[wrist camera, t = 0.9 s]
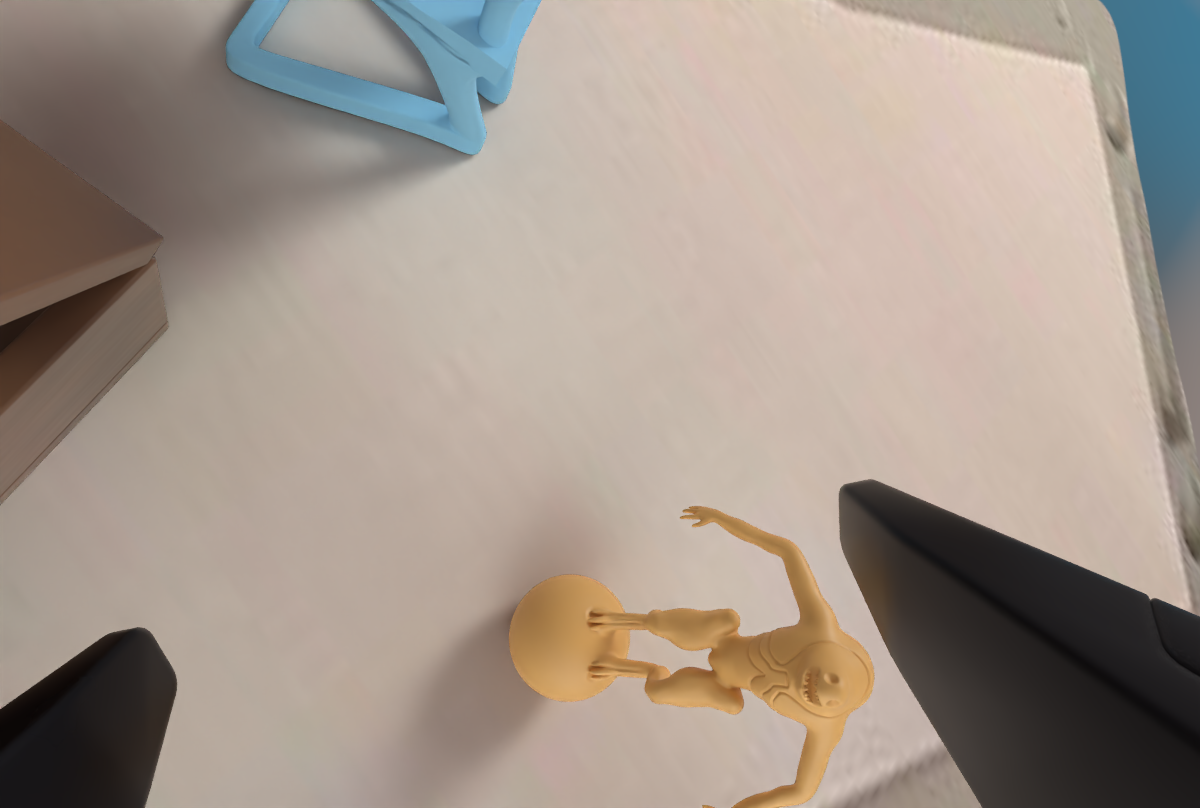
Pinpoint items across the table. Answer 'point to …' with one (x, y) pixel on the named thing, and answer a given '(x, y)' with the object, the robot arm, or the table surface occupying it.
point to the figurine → (757, 663)
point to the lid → (58, 231)
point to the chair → (448, 44)
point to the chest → (70, 363)
